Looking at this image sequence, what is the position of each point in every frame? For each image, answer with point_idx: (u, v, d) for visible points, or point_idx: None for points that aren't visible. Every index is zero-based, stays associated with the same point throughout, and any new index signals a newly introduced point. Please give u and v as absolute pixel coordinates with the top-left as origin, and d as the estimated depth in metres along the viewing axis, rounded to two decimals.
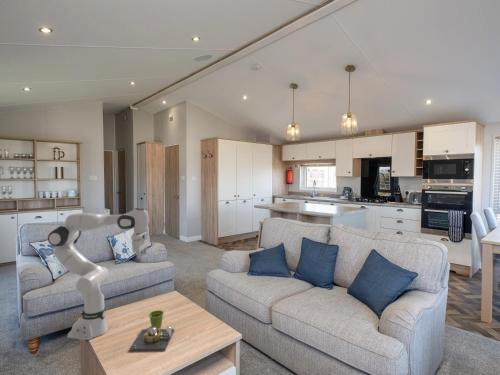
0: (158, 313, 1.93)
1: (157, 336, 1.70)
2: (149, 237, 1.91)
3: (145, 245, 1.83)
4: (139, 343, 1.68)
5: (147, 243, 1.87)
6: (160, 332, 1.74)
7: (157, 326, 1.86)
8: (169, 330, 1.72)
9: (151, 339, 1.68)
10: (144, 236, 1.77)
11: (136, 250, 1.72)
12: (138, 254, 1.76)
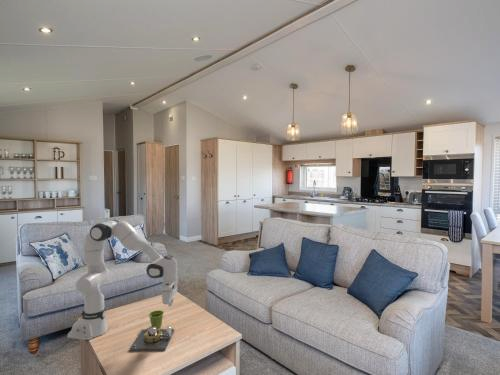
0: (158, 313, 1.93)
1: (157, 336, 1.70)
2: None
3: (173, 294, 1.79)
4: (139, 343, 1.68)
5: (175, 291, 1.82)
6: (160, 332, 1.74)
7: (157, 326, 1.86)
8: (169, 330, 1.72)
9: (151, 339, 1.68)
10: (174, 286, 1.72)
11: (166, 302, 1.67)
12: (169, 302, 1.75)
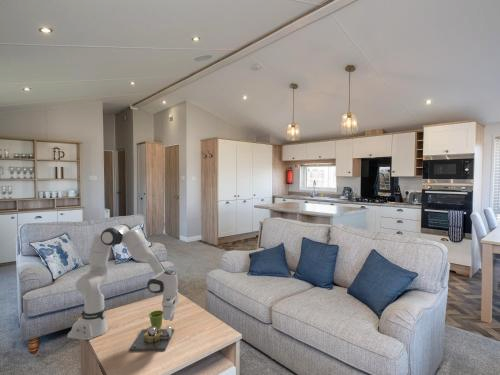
0: (158, 313, 1.93)
1: (157, 336, 1.70)
2: None
3: (174, 308, 1.79)
4: (139, 343, 1.68)
5: (176, 305, 1.83)
6: (160, 332, 1.74)
7: (157, 326, 1.86)
8: (169, 330, 1.72)
9: (151, 339, 1.68)
10: (174, 301, 1.73)
11: (167, 317, 1.68)
12: (170, 317, 1.76)
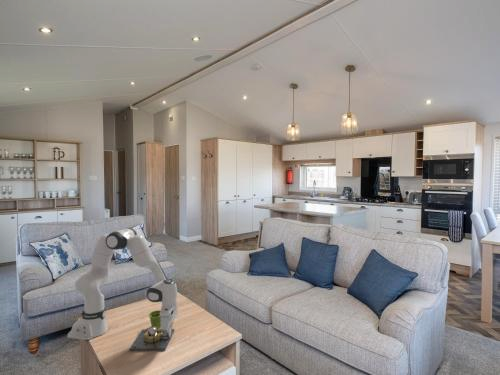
0: (158, 313, 1.93)
1: (157, 336, 1.70)
2: (177, 306, 1.84)
3: (173, 318, 1.77)
4: (139, 343, 1.68)
5: (175, 314, 1.80)
6: (160, 332, 1.74)
7: (157, 326, 1.86)
8: (169, 330, 1.72)
9: (151, 339, 1.68)
10: (173, 311, 1.70)
11: (165, 328, 1.65)
12: (169, 326, 1.74)
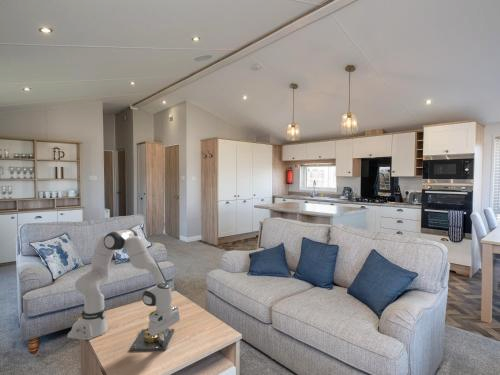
0: None
1: (151, 338, 1.68)
2: (178, 313, 1.75)
3: (168, 324, 1.68)
4: (139, 343, 1.68)
5: (173, 321, 1.72)
6: (158, 335, 1.71)
7: None
8: (160, 336, 1.65)
9: (145, 338, 1.69)
10: (162, 318, 1.62)
11: (151, 333, 1.60)
12: None
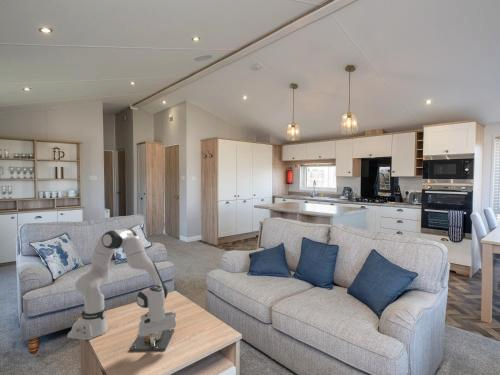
0: None
1: (146, 337, 1.68)
2: (174, 319, 1.68)
3: (160, 328, 1.64)
4: (139, 343, 1.68)
5: (167, 326, 1.66)
6: None
7: None
8: (150, 339, 1.63)
9: (144, 336, 1.71)
10: (149, 320, 1.59)
11: None
12: None
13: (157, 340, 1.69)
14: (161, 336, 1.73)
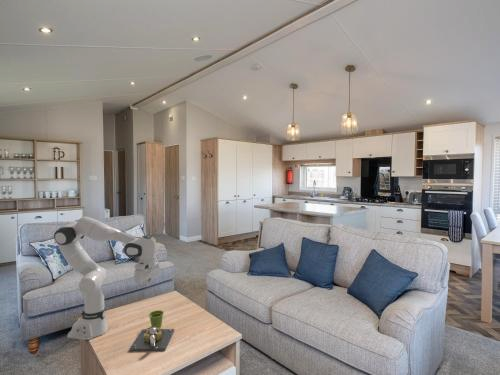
0: (158, 313, 1.93)
1: (146, 337, 1.68)
2: (159, 265, 1.84)
3: (151, 274, 1.76)
4: (139, 343, 1.68)
5: (155, 272, 1.80)
6: (154, 336, 1.69)
7: (157, 326, 1.86)
8: (150, 339, 1.63)
9: (144, 336, 1.71)
10: (148, 266, 1.70)
11: (137, 281, 1.66)
12: (145, 282, 1.74)
13: (157, 340, 1.69)
14: (161, 336, 1.73)
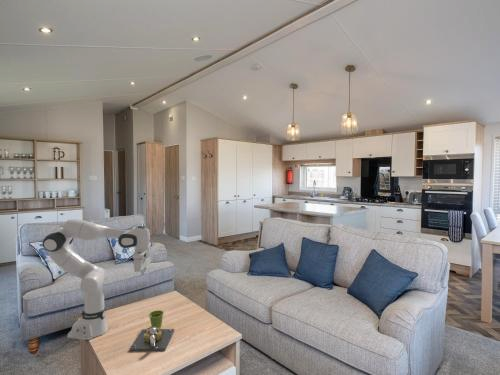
0: (158, 313, 1.93)
1: (146, 337, 1.68)
2: (150, 254, 1.89)
3: (146, 263, 1.82)
4: (139, 343, 1.68)
5: (148, 261, 1.85)
6: (154, 336, 1.69)
7: (157, 326, 1.86)
8: (150, 339, 1.63)
9: (144, 336, 1.71)
10: (145, 255, 1.75)
11: (137, 269, 1.70)
12: (142, 271, 1.78)
13: (157, 340, 1.69)
14: (161, 336, 1.73)
